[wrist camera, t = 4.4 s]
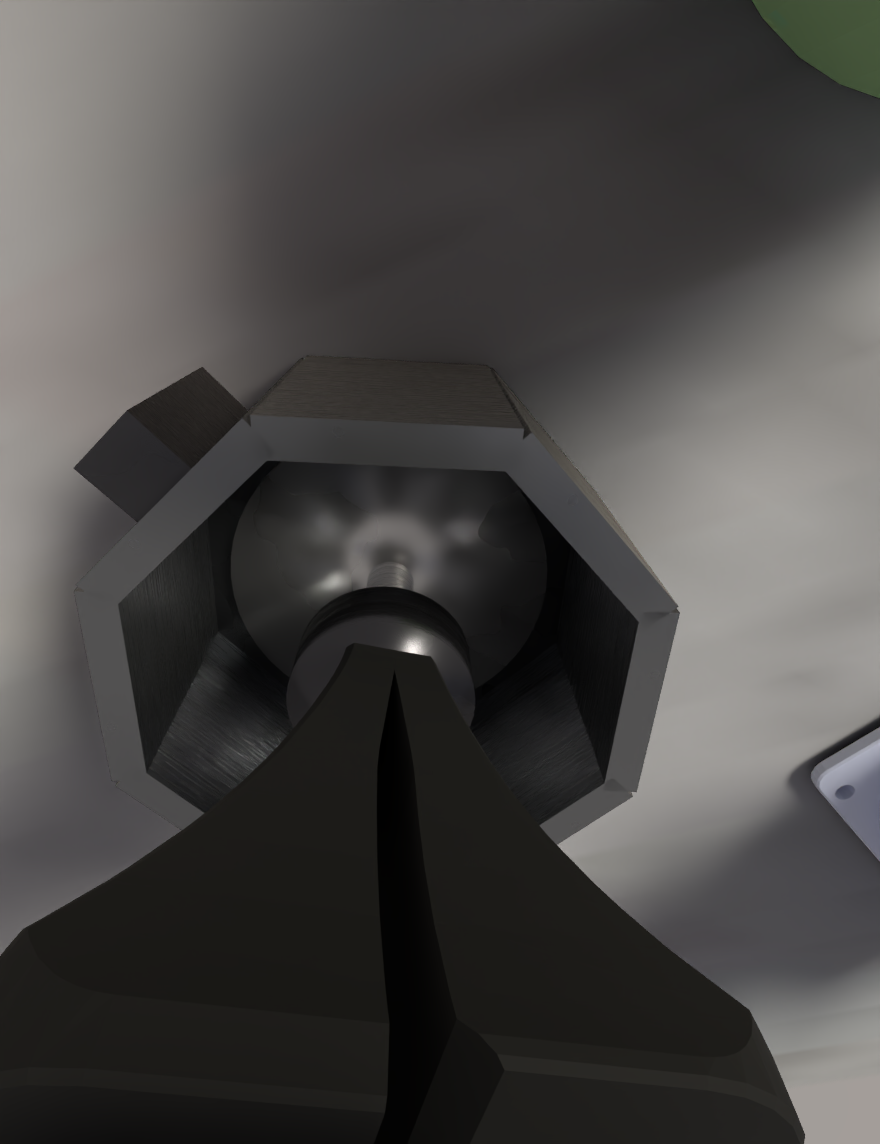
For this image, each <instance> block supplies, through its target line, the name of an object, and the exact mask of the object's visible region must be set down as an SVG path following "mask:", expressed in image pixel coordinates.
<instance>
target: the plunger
mask: <svg viewBox="0 0 880 1144" xmlns="http://www.w3.org/2000/svg"><path fill="white" fill-rule="evenodd" d="M231 581H232V587H233V593H234V598H235V601H236V604H237V607H238V611H239V614H240V616H241V618H242V620H243V622H244V624H245V626H246V629H247V630H248V632H249V634H250V635H251V637H252V638H253V640H254V641H255V643H256V644H257V646H258V647H259V648H260V649H261V651H262V652H263V653H264V654H265V655H266V657H267V658H268V659H269V660H270V661H271V662H272V663H273V664H274V665H275V666H276V667H277V668H279V669H280V670H281V671H282V672H283V673H284V674H286V675H287V676H288V677H290V678H289V682H288V687H287V694H286V704H287V712H288V715H289V719H290V722H291V724H292V726H293V728H294V727H295V726H296V725H297V723H298V722H299V721H300V720H301V719H302V718H303V716H304V715H305V714H306V713H307V711H308V710H309V709H310V707H311V706H312V705H313V703H314V702H315V701H316V699H317V698H318V696H319V695H320V694H321V692H322V691H323V689H324V688H325V687H326V685H327V684H328V682H329V681H330V679H331V677H332V676H333V674H334V673H335V671H336V669H337V667H338V666H339V664H340V662H341V660H342V657H343V655H344V653H345V649H346V647H347V646H349V645H351V644H353V643H359V644H364V645H370V646H375V647H381V648H386V649H392V650H398V651H403V652H409V653H415V654H421V655H426V656H431V657H432V659H433V660H434V662H435V663H436V665H437V667H438V669H439V671H440V673H441V675H442V677H443V679H444V681H445V683H446V685H447V687H448V689H449V691H450V693H451V695H452V697H453V699H454V701H455V703H456V705H457V706H458V708H459V710H460V712H461V714H462V715H463V717H464V719H465V721H466V722H467V724H468V726H469V727H470V725H471V722H472V719H473V716H474V711H475V691H474V689H476V688H477V687H479V686H480V685H482V684H484V683H485V682H487V681H488V680H490V679H491V678H492V677H494V676H495V675H496V674H497V673H498V672H500V671H501V670H502V669H503V668H504V667H505V666H506V665H507V664H508V663H509V662H510V661H511V660H512V659H513V658H514V657H515V656H516V655H517V653H518V652H519V651H520V649H521V648H522V646H523V645H524V644H525V642H526V641H527V639H528V638H529V636H530V634H531V632H532V630H533V628H534V626H535V624H536V622H537V619H538V617H539V614H540V611H541V609H542V605H543V601H544V596H545V591H546V583H547V560H546V550H545V546H544V541H543V537H542V533H541V530H540V528H539V525H538V523H537V520H536V517H535V515H534V513H533V510H532V508H531V506H530V505H529V503H528V501H527V499H526V497H525V496H524V494H523V492H522V491H521V489H520V488H519V487H518V485H517V484H516V483H515V482H514V480H513V479H512V478H511V477H510V476H509V475H508V473H507V472H505V471H483V470H462V469H440V468H419V467H397V466H375V465H354V464H332V463H310V462H289V461H280V462H279V463H278V464H277V465H276V466H275V467H274V468H273V469H272V470H271V471H270V472H269V473H268V474H267V475H266V477H265V478H264V479H263V480H262V481H261V483H260V484H259V486H258V487H257V489H256V490H255V492H254V493H253V495H252V496H251V498H250V499H249V501H248V503H247V505H246V507H245V509H244V511H243V513H242V515H241V517H240V519H239V522H238V525H237V529H236V532H235V535H234V539H233V545H232V552H231Z"/></svg>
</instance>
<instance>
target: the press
mask: <svg viewBox="0 0 880 1144" xmlns="http://www.w3.org/2000/svg"><path fill="white" fill-rule="evenodd" d="M280 461H289V462H310V463H332V464H354V465H375V466H397V467H419V468H440V469H462V470H483V471H505V472H507V473H508V475H509V476H510V477H511V478H512V479H513V480H514V482H515V483H516V484H517V485H518V487H519V488H520V489H521V491H522V492H523V494H524V496H525V497H526V499H527V501H528V503H529V505H530V506H531V508H532V510H533V513H534V515H535V517H536V520H537V523H538V525H539V528H540V530H541V533H542V537H543V541H544V546H545V550H546V560H547V583H546V591H545V596H544V601H543V605H542V609H541V611H540V614H539V617H538V619H537V622H536V624H535V626H534V628H533V630H532V632H531V634H530V636H529V638H528V639H527V641H526V642H525V644H524V645H523V646H522V648H521V649H520V651H519V652H518V653H517V655H516V656H515V657H514V658H513V659H512V660H511V661H510V662H509V663H508V664H507V665H506V666H505V667H504V668H503V669H502V670H501V671H500V672H498V673H497V674H496V675H495V676H494V677H492V678H491V679H490V680H488V681H487V682H485V683H484V684H482V685H480V686H479V687H477V688H476V689H474V691H475V711H474V716H473V719H472V722H471V725H470V729H471V731H472V732H473V734H474V736H475V737H476V739H477V741H478V743H479V744H480V746H481V747H482V749H483V751H484V752H485V754H486V755H487V757H488V758H489V760H490V761H491V763H492V764H493V766H494V767H495V769H496V770H497V772H498V773H499V774H500V776H501V777H502V779H503V780H504V782H505V783H506V785H507V786H508V787H509V789H510V790H511V791H512V793H513V794H514V795H515V797H516V798H517V799H518V800H519V802H520V803H521V804H522V805H523V806H524V808H525V809H526V810H527V811H528V812H529V814H530V815H531V816H532V817H533V818H534V820H535V821H536V822H537V823H538V824H539V826H540V827H541V828H542V829H543V830H544V832H545V833H546V834H547V835H548V836H549V837H550V838H551V839H552V840H553V841H554V843H555V844H556V845H557V844H559V843H560V842H562V841H563V840H565V839H567V838H568V837H570V836H571V835H573V834H575V833H576V832H578V831H579V830H581V829H582V828H584V827H586V826H587V825H589V824H590V823H592V822H594V821H595V820H597V819H598V818H600V817H601V816H603V815H605V814H606V813H608V812H609V811H611V810H613V809H614V808H616V807H617V806H619V805H620V804H622V803H624V802H625V801H627V800H628V799H630V798H631V797H633V796H632V793H631V792H637V788H638V784H639V780H640V776H641V772H642V767H643V763H644V759H645V755H646V751H647V747H648V743H649V738H650V734H651V730H652V726H653V722H654V718H655V714H656V709H657V705H658V701H659V697H660V693H661V689H662V685H663V680H664V676H665V672H666V668H667V664H668V660H669V656H670V651H671V647H672V643H673V639H674V635H675V631H676V627H677V622H678V618H679V614H680V612H679V611H678V610H677V607H678V605H677V604H676V602H675V601H674V600H673V598H672V597H671V596H670V594H669V593H668V591H667V590H666V589H665V587H664V586H663V584H662V583H661V582H660V580H659V579H658V578H657V576H656V575H655V573H654V572H653V571H652V569H651V568H650V566H649V565H648V564H647V562H646V561H645V560H644V558H643V557H642V555H641V554H640V553H639V551H638V550H637V548H636V547H635V546H634V544H633V543H632V541H631V540H630V539H629V537H628V536H627V535H626V533H625V532H624V530H623V529H622V528H621V526H620V525H619V523H618V522H617V521H616V519H615V518H614V517H613V515H612V514H611V512H610V511H609V510H608V508H607V507H606V505H605V504H604V503H603V501H602V500H601V499H600V497H599V496H598V494H597V493H596V492H595V491H594V489H593V488H592V487H591V486H590V485H589V483H588V482H587V481H586V480H585V479H584V477H583V476H582V475H581V474H580V473H579V471H578V470H577V469H576V468H575V467H574V465H573V464H572V463H571V462H570V461H569V459H568V458H567V457H566V456H565V455H564V453H563V452H562V451H561V450H560V449H559V447H558V446H557V445H556V444H555V443H554V441H553V440H552V439H551V438H550V437H549V435H548V434H547V433H546V432H545V431H544V429H543V428H542V427H541V426H540V425H539V423H538V422H537V421H536V420H535V419H534V417H533V416H532V415H531V414H530V413H529V411H528V410H527V409H526V408H525V407H524V405H523V404H522V403H521V402H520V401H519V399H518V398H517V397H516V396H515V395H514V393H513V392H512V391H511V390H510V389H509V387H508V386H507V385H506V384H505V383H504V381H503V380H502V379H501V378H500V377H499V375H498V374H497V373H496V372H495V371H494V369H493V368H492V369H491V370H490V369H489V368H488V366H487V365H472V364H453V363H435V362H417V361H399V360H380V359H362V358H344V357H325V356H307V357H306V358H305V359H303V358H301V359H300V360H299V361H298V362H297V363H296V364H295V365H294V366H293V367H292V368H291V369H290V370H289V371H288V372H287V373H286V374H285V375H284V376H283V377H282V378H281V379H280V380H279V381H278V382H277V383H276V384H275V385H274V386H273V387H272V388H271V389H270V390H269V391H268V392H267V393H266V394H265V395H264V396H263V397H262V398H261V399H260V400H259V401H258V402H257V403H256V404H255V405H254V406H253V407H252V408H251V409H250V410H249V411H247V410H246V409H245V408H244V407H243V406H242V405H241V404H240V403H239V402H238V401H237V400H236V399H235V398H234V397H233V396H232V395H231V394H230V393H229V392H228V391H227V390H226V389H225V388H224V387H223V386H222V385H221V384H220V383H219V382H218V381H216V380H215V379H214V378H213V377H212V376H211V375H210V374H209V373H208V372H207V371H206V370H205V369H204V368H203V367H201V368H199V369H198V370H196V371H194V372H192V373H191V374H189V375H187V376H185V377H184V378H182V379H180V380H179V381H177V382H175V383H173V384H172V385H170V386H168V387H167V388H165V389H163V390H161V391H160V392H158V393H156V394H154V395H153V396H151V397H149V398H148V399H146V400H144V401H142V402H141V403H139V404H137V405H136V406H134V407H132V408H130V409H129V410H127V411H126V412H125V413H124V414H123V415H122V416H121V417H120V419H119V420H118V421H117V422H116V423H115V424H114V425H113V426H112V427H111V428H110V429H109V430H108V432H107V433H106V434H105V435H104V436H103V437H102V438H101V439H100V440H99V441H98V442H97V443H96V444H95V446H94V447H93V448H92V449H91V450H90V451H89V452H88V453H87V454H86V455H85V456H84V457H83V459H82V460H81V461H80V462H79V463H78V464H77V465H76V466H75V467H74V469H75V470H76V471H77V472H78V473H80V474H81V475H82V476H83V477H84V478H86V479H87V480H88V481H89V482H90V483H92V484H93V485H94V486H95V487H96V488H98V489H99V490H100V491H101V492H102V493H103V494H105V495H106V496H107V497H108V498H109V499H111V500H112V501H113V502H114V503H115V504H117V505H118V506H119V507H120V508H121V509H123V510H124V511H125V512H126V513H127V514H128V515H130V516H131V517H132V518H133V519H134V520H136V521H137V522H138V523H137V524H136V525H135V526H134V527H133V528H132V529H131V530H130V531H129V532H128V533H127V534H126V535H125V536H124V537H123V538H122V539H121V540H120V541H119V542H118V543H117V544H116V545H115V546H114V547H113V548H112V549H111V550H110V551H109V552H108V553H107V554H106V555H105V556H104V557H103V558H102V559H101V560H100V561H99V562H98V563H97V564H96V565H95V566H94V567H93V568H92V569H91V570H90V571H89V572H88V573H87V574H86V575H85V576H84V577H83V578H82V579H81V580H80V581H79V582H78V583H77V584H76V585H77V586H78V588H77V589H76V590H75V591H74V595H75V600H76V605H77V610H78V615H79V620H80V625H81V630H82V635H83V640H84V645H85V650H86V655H87V660H88V665H89V670H90V675H91V680H92V685H93V690H94V695H95V700H96V705H97V710H98V715H99V720H100V725H101V730H102V736H103V741H104V746H105V751H106V756H107V761H108V766H109V771H110V776H111V781H118V782H117V784H116V787H118V788H119V789H121V790H122V791H124V792H125V793H127V794H128V795H130V796H131V797H133V798H134V799H135V800H137V801H138V802H140V803H141V804H143V805H144V806H146V807H147V808H149V809H150V810H152V811H153V812H155V813H156V814H158V815H159V816H161V817H162V818H164V819H165V820H167V821H168V822H170V823H171V824H173V825H174V826H176V827H177V828H179V829H180V830H183V829H185V828H186V827H187V826H189V825H190V824H191V823H193V822H194V821H195V820H196V819H198V818H199V817H200V816H201V815H203V814H204V813H205V812H207V811H208V810H209V809H210V808H211V807H213V806H214V805H215V804H216V803H217V802H218V801H220V800H221V799H222V798H223V797H224V796H226V795H227V794H228V793H229V792H230V791H232V790H233V789H234V788H235V787H236V786H237V785H238V784H240V783H241V782H242V781H243V780H244V779H245V778H246V777H247V776H248V775H249V774H250V773H251V772H252V771H253V770H255V769H256V768H257V767H258V766H259V765H260V764H261V763H262V762H263V761H264V760H265V759H266V758H267V757H268V756H269V755H270V754H271V753H272V752H273V751H274V749H275V748H276V747H277V746H278V745H279V744H280V743H281V742H282V741H283V740H284V738H285V737H286V736H287V735H288V734H289V733H290V731H291V730H292V729H293V726H292V724H291V722H290V719H289V715H288V712H287V704H286V694H287V687H288V682H289V678H290V677H288V676H287V675H286V674H284V673H283V672H282V671H281V670H280V669H279V668H277V667H276V666H275V665H274V664H273V663H272V662H271V661H270V660H269V659H268V658H267V657H266V655H265V654H264V653H263V652H262V651H261V649H260V648H259V647H258V646H257V644H256V643H255V641H254V640H253V638H252V637H251V635H250V634H249V632H248V630H247V629H246V626H245V624H244V622H243V620H242V618H241V616H240V614H239V611H238V607H237V604H236V601H235V598H234V593H233V587H232V581H231V552H232V545H233V539H234V535H235V532H236V529H237V525H238V522H239V519H240V517H241V515H242V513H243V511H244V509H245V507H246V505H247V503H248V501H249V499H250V498H251V496H252V495H253V493H254V492H255V490H256V489H257V487H258V486H259V484H260V483H261V481H262V480H263V479H264V478H265V477H266V475H267V474H268V473H269V472H270V471H271V470H272V469H273V468H274V467H275V466H276V465H277V464H278V463H279V462H280Z"/></svg>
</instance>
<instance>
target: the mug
mask: <svg viewBox="0 0 880 1144" xmlns="http://www.w3.org/2000/svg"><path fill="white" fill-rule="evenodd" d="M752 1H753V3H754V5H755V6H756V8H757V10H758V11H759V13H760V15H761V16H762V18H763V19H764V20H765V21H766V22H767V24H768V25H769V26H770V27H771V28H772V29H773V30H774V31H775V32H776V33H777V34H778V35H779V36H780V37H781V39H782V40H783V41H784V42H785V43H786V44H787V45H788V46H789V47H790V48H791V49H792V50H793V51H794V52H795V54H796V55H797V56H798V57H800V58H801V59H803V60H804V61H806V62H807V63H809V64H810V65H812V66H813V67H815V68H816V69H818V70H819V71H821V72H822V73H824V74H825V75H827V76H828V77H830V78H831V79H833V80H834V81H836V82H837V83H839V84H841V85H843V86H846V87H849V88H852V89H855V90H857V91H860V92H863V93H866V94H869V95H871V96H874V97H877V98H880V0H752Z"/></svg>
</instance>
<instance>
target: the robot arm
mask: <svg viewBox="0 0 880 1144" xmlns="http://www.w3.org/2000/svg"><path fill="white" fill-rule="evenodd" d="M811 780H812V782H813V783H814V785H815V786H816V788H817V789H818V790H819V791H820V793H821V794H822V795H823V796H824V797H825V798H826V800H827V801H828V802H829V803H830V804H831V805H832V807H833V808H834V809H835V810H836V811H837V812H838V814H839V815H840V816H841V817H842V818H843V819H844V821H845V822H846V823H847V824H848V825H849V826H850V828H851V829H852V830H853V831H854V832H855V833H856V835H857V836H858V837H859V838H860V839H861V840H862V842H863V843H864V844H865V845H866V846H867V847H868V849H869V850H870V851H871V852H872V853H873V854H874V856H875V857H876V858H877V859H878V860H879V861H880V727H879V728H877V729H875V730H874V731H872V732H870V733H869V734H867V735H865V736H864V737H862V738H860V739H859V740H857V741H855V742H854V743H852V744H850V745H849V746H847V747H845V748H843V749H842V750H840V751H838V752H837V753H835V754H833V755H832V756H830V757H828V758H827V759H825V760H823V761H822V762H820V763H819V764H818V765H816V766H815V768H814V769H813V771H812V772H811ZM841 786H842V787H841ZM840 787H841V788H840ZM804 1139H805V1134H804V1131H803V1128H802V1126H801V1123H800V1121H799V1118H798V1116H797V1113H796V1111H795V1109H794V1106H793V1104H792V1101H791V1099H790V1097H789V1094H788V1092H787V1090H786V1087H785V1085H784V1082H783V1080H782V1078H781V1075H780V1073H779V1071H778V1068H777V1066H776V1063H775V1061H774V1059H773V1057H772V1054H771V1052H770V1050H769V1048H768V1046H767V1044H766V1042H765V1040H764V1038H763V1036H762V1034H761V1032H760V1030H759V1028H758V1026H757V1024H756V1022H755V1020H754V1018H753V1016H752V1014H751V1012H750V1010H749V1009H747V1008H746V1007H745V1006H743V1005H742V1004H741V1003H739V1002H738V1001H737V1000H735V999H734V998H733V997H731V996H730V995H729V994H727V993H726V992H725V991H723V990H722V989H721V988H719V987H718V986H717V985H715V984H714V983H713V982H711V981H710V980H709V979H707V978H706V977H705V976H704V975H702V974H701V973H700V972H698V971H697V970H696V969H694V968H693V967H692V966H690V965H689V964H688V963H686V962H685V961H684V960H682V959H681V958H680V957H678V956H677V955H676V954H674V953H673V952H672V951H671V950H669V949H668V948H667V947H666V946H664V945H663V944H662V943H661V942H660V941H658V940H657V939H656V938H655V937H654V936H653V935H651V934H650V933H649V932H648V931H647V930H646V929H644V928H643V927H642V926H641V925H640V924H639V923H637V922H636V921H635V920H634V919H633V918H632V917H630V916H629V915H628V914H627V913H626V912H625V911H624V910H622V909H621V908H620V907H619V906H618V905H617V904H616V903H615V902H614V901H613V900H612V899H610V898H609V897H608V896H607V895H606V894H605V893H604V892H603V891H602V890H601V889H600V888H599V887H597V886H596V885H595V884H594V883H593V882H592V881H591V880H590V879H589V878H588V877H587V876H586V875H585V874H584V873H583V872H582V870H581V869H580V868H579V867H578V866H577V865H576V864H575V863H574V862H573V861H572V860H571V859H570V858H569V857H568V856H567V855H566V854H565V853H564V852H563V851H562V850H561V849H560V848H559V847H558V846H557V845H556V844H555V843H554V841H553V840H552V839H551V838H550V837H549V836H548V835H547V834H546V833H545V832H544V830H543V829H542V828H541V827H540V826H539V824H538V823H537V822H536V821H535V820H534V818H533V817H532V816H531V815H530V814H529V812H528V811H527V810H526V809H525V808H524V806H523V805H522V804H521V803H520V802H519V800H518V799H517V798H516V797H515V795H514V794H513V793H512V791H511V790H510V789H509V787H508V786H507V785H506V783H505V782H504V780H503V779H502V777H501V776H500V774H499V773H498V772H497V770H496V769H495V767H494V766H493V764H492V763H491V761H490V760H489V758H488V757H487V755H486V754H485V752H484V751H483V749H482V747H481V746H480V744H479V743H478V741H477V739H476V737H475V736H474V734H473V732H472V731H471V729H470V727H469V726H468V724H467V722H466V721H465V719H464V717H463V715H462V714H461V712H460V710H459V708H458V706H457V705H456V703H455V701H454V699H453V697H452V695H451V693H450V691H449V689H448V687H447V685H446V683H445V681H444V679H443V677H442V675H441V673H440V671H439V669H438V667H437V665H436V663H435V662H434V660H433V659H432V657H431V656H426V655H421V654H415V653H409V652H403V651H398V650H392V649H386V648H381V647H375V646H370V645H364V644H359V643H353V644H351V645H349V646H347V647H346V649H345V653H344V655H343V657H342V660H341V662H340V664H339V666H338V667H337V669H336V671H335V673H334V674H333V676H332V677H331V679H330V681H329V682H328V684H327V685H326V687H325V688H324V689H323V691H322V692H321V694H320V695H319V696H318V698H317V699H316V701H315V702H314V703H313V705H312V706H311V707H310V709H309V710H308V711H307V713H306V714H305V715H304V716H303V718H302V719H301V720H300V721H299V722H298V723H297V725H296V726H295V727H294V728H293V729H292V730H291V731H290V733H289V734H288V735H287V736H286V737H285V738H284V740H283V741H282V742H281V743H280V744H279V745H278V746H277V747H276V748H275V749H274V751H273V752H272V753H271V754H270V755H269V756H268V757H267V758H266V759H265V760H264V761H263V762H262V763H261V764H260V765H259V766H258V767H257V768H256V769H255V770H253V771H252V772H251V773H250V774H249V775H248V776H247V777H246V778H245V779H244V780H243V781H242V782H241V783H240V784H238V785H237V786H236V787H235V788H234V789H233V790H232V791H230V792H229V793H228V794H227V795H226V796H224V797H223V798H222V799H221V800H220V801H218V802H217V803H216V804H215V805H214V806H213V807H211V808H210V809H209V810H208V811H207V812H205V813H204V814H203V815H201V816H200V817H199V818H198V819H196V820H195V821H194V822H193V823H191V824H190V825H189V826H187V827H186V828H185V829H183V830H182V831H181V832H179V833H178V834H176V835H175V836H173V837H172V838H170V839H169V840H167V841H166V842H165V843H163V844H162V845H160V846H159V847H157V848H156V849H154V850H153V851H152V852H150V853H149V854H147V855H146V856H144V857H143V858H141V859H140V860H139V861H137V862H136V863H134V864H133V865H131V866H130V867H128V868H127V869H125V870H124V871H122V872H121V873H119V874H117V875H116V876H114V877H113V878H111V879H110V880H108V881H106V882H105V883H103V884H101V885H99V886H98V887H96V888H94V889H92V890H91V891H89V892H87V893H85V894H84V895H82V896H80V897H79V898H77V899H75V900H73V901H72V902H70V903H68V904H66V905H65V906H63V907H61V908H60V909H58V910H56V911H54V912H53V913H51V914H49V915H47V916H46V917H44V918H42V919H41V920H39V921H37V922H35V923H33V924H31V925H30V926H28V927H26V928H24V929H23V930H22V931H21V932H20V933H19V934H18V936H17V937H16V938H15V939H14V940H13V941H12V942H11V944H10V945H9V946H8V947H7V948H6V950H5V951H4V952H3V953H2V955H1V956H0V1144H804Z"/></svg>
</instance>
